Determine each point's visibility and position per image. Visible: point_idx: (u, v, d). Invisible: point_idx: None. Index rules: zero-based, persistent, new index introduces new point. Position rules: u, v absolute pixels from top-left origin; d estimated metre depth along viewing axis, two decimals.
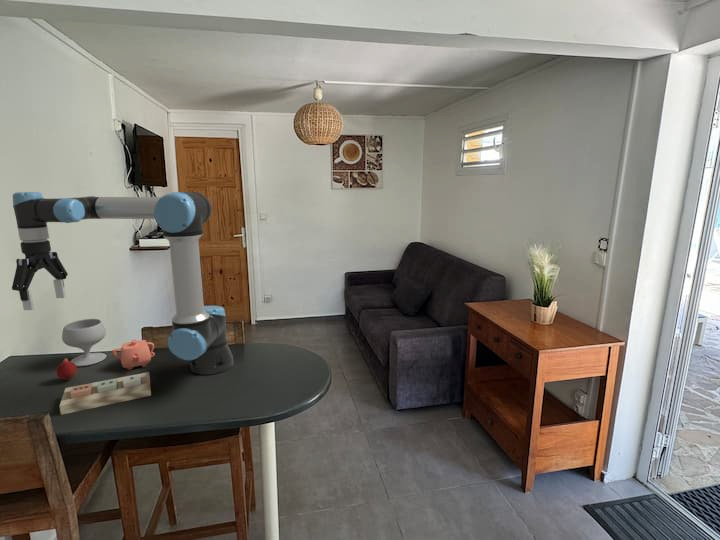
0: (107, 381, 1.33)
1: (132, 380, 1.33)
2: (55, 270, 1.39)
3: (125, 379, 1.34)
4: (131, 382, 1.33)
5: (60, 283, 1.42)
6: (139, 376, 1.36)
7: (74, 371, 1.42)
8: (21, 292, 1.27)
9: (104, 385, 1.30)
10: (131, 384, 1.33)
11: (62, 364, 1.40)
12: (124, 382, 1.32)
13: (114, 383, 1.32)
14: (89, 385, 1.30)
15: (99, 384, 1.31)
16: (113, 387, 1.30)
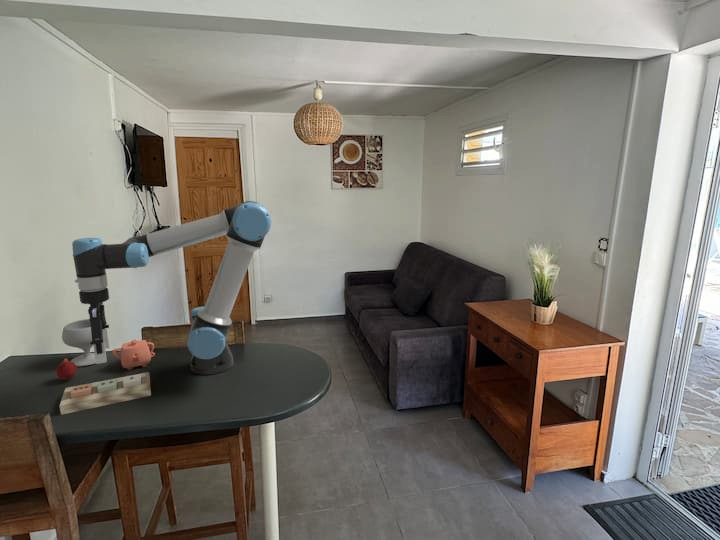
0: (107, 381, 1.33)
1: (132, 380, 1.33)
2: (104, 319, 1.32)
3: (125, 379, 1.34)
4: (131, 382, 1.33)
5: (105, 333, 1.34)
6: (139, 376, 1.36)
7: (74, 371, 1.42)
8: (98, 345, 1.22)
9: (104, 385, 1.30)
10: (131, 384, 1.33)
11: (62, 364, 1.40)
12: (124, 382, 1.32)
13: (114, 383, 1.32)
14: (89, 385, 1.30)
15: (99, 384, 1.31)
16: (113, 387, 1.30)
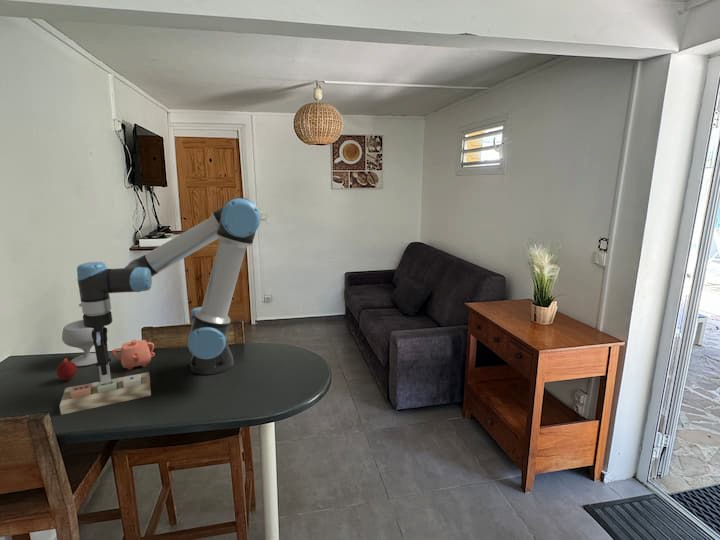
0: None
1: (132, 380, 1.33)
2: (106, 347, 1.31)
3: (125, 379, 1.34)
4: (131, 382, 1.33)
5: None
6: (139, 376, 1.36)
7: (74, 371, 1.42)
8: (103, 367, 1.29)
9: (104, 385, 1.30)
10: (131, 384, 1.33)
11: (62, 364, 1.40)
12: (124, 382, 1.32)
13: (114, 383, 1.32)
14: (89, 385, 1.30)
15: (99, 384, 1.31)
16: (113, 387, 1.30)
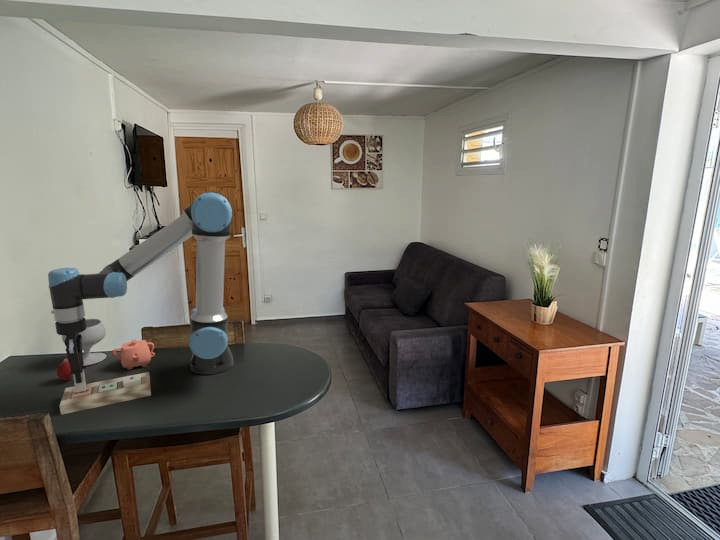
0: (107, 384, 1.33)
1: (132, 380, 1.33)
2: (81, 355, 1.28)
3: (125, 379, 1.34)
4: (131, 382, 1.33)
5: None
6: (139, 376, 1.36)
7: None
8: (77, 375, 1.26)
9: (105, 389, 1.30)
10: (131, 384, 1.33)
11: (62, 364, 1.40)
12: (124, 382, 1.32)
13: (114, 386, 1.32)
14: (90, 388, 1.30)
15: (99, 388, 1.31)
16: None
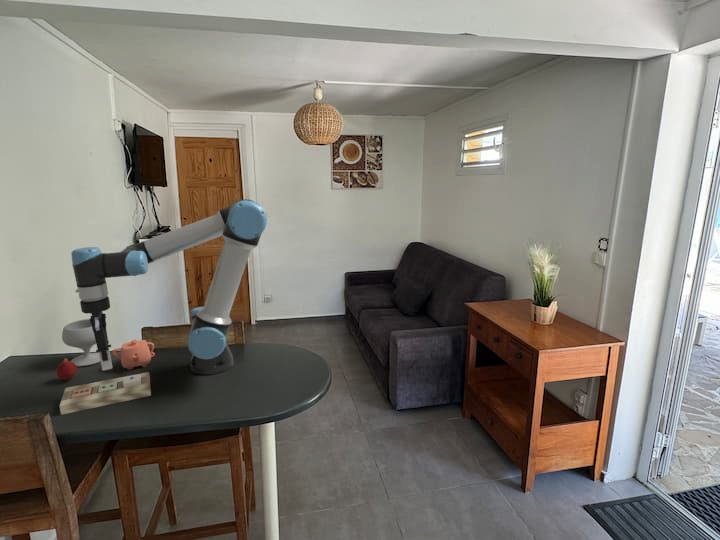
0: (107, 384, 1.33)
1: (132, 380, 1.33)
2: (105, 333, 1.30)
3: (125, 379, 1.34)
4: (131, 382, 1.33)
5: None
6: (139, 376, 1.36)
7: (74, 371, 1.42)
8: (103, 352, 1.28)
9: (105, 389, 1.30)
10: (131, 384, 1.33)
11: (62, 364, 1.40)
12: (124, 382, 1.32)
13: (114, 386, 1.32)
14: (90, 389, 1.30)
15: (99, 388, 1.31)
16: None
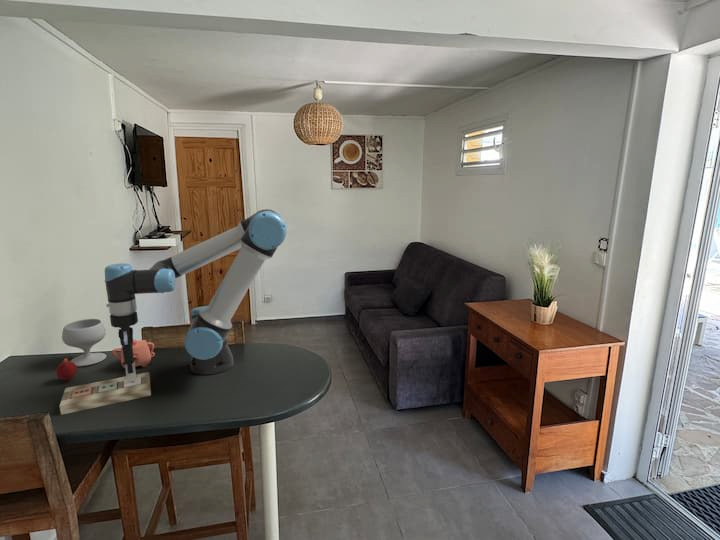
0: (107, 384, 1.33)
1: (132, 384, 1.33)
2: None
3: (125, 382, 1.35)
4: (132, 385, 1.33)
5: None
6: (139, 380, 1.36)
7: (74, 371, 1.42)
8: (129, 365, 1.32)
9: (105, 389, 1.30)
10: None
11: (62, 364, 1.40)
12: (124, 385, 1.33)
13: (114, 386, 1.32)
14: (90, 389, 1.30)
15: (99, 388, 1.31)
16: None
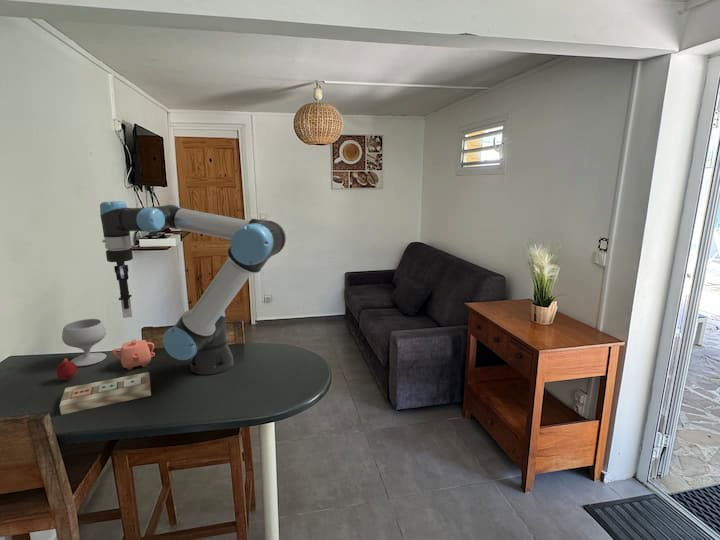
0: (107, 384, 1.33)
1: (132, 384, 1.33)
2: None
3: (125, 382, 1.35)
4: (132, 385, 1.33)
5: None
6: (139, 380, 1.36)
7: (74, 371, 1.42)
8: (125, 301, 1.37)
9: (105, 389, 1.30)
10: None
11: (62, 364, 1.40)
12: (124, 385, 1.33)
13: (114, 386, 1.32)
14: (90, 389, 1.30)
15: (99, 388, 1.31)
16: None
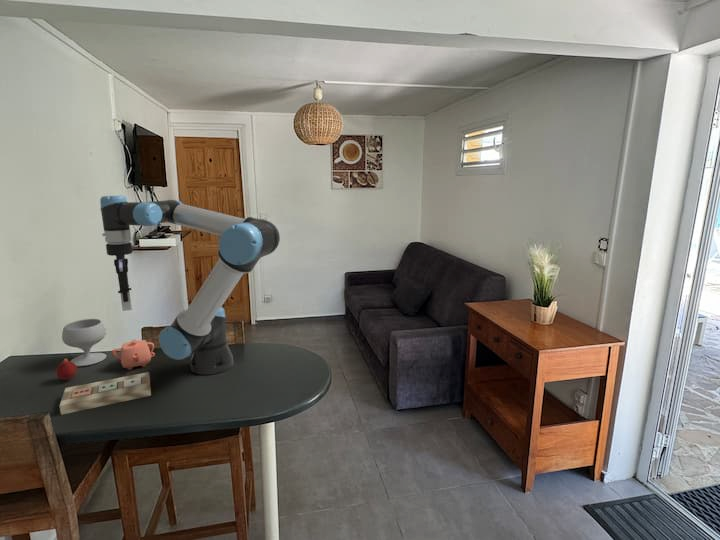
0: (107, 384, 1.33)
1: (132, 384, 1.33)
2: (127, 277, 1.41)
3: (125, 382, 1.35)
4: (132, 385, 1.33)
5: None
6: (139, 380, 1.36)
7: (74, 371, 1.42)
8: (124, 294, 1.39)
9: (105, 389, 1.30)
10: None
11: (62, 364, 1.40)
12: (124, 385, 1.33)
13: (114, 386, 1.32)
14: (90, 389, 1.30)
15: (99, 388, 1.31)
16: None
